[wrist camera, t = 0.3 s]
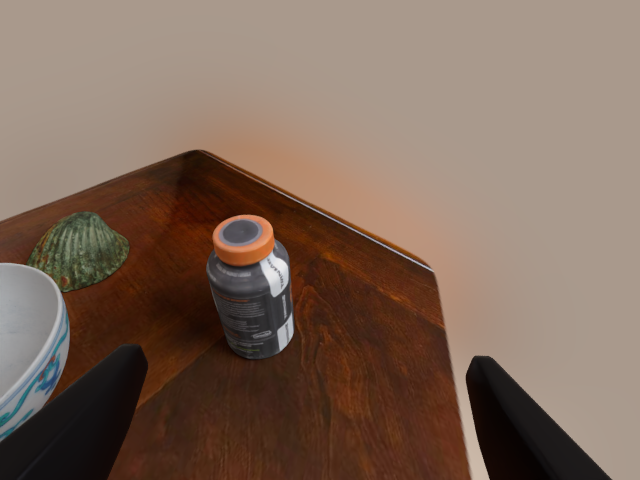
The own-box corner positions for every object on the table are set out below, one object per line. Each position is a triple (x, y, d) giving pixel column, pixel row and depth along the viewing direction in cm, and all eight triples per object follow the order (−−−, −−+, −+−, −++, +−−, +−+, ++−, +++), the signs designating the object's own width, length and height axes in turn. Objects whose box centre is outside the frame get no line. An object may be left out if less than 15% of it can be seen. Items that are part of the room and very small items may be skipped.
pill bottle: (308, 332, 30) (305, 232, 23) (251, 376, 27) (226, 277, 20) (268, 293, 33) (254, 195, 26) (213, 328, 30) (180, 228, 23)
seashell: (-22, 262, 30) (43, 199, 38) (2, 293, 33) (58, 228, 41) (97, 266, 31) (138, 203, 39) (111, 296, 34) (146, 232, 41)
